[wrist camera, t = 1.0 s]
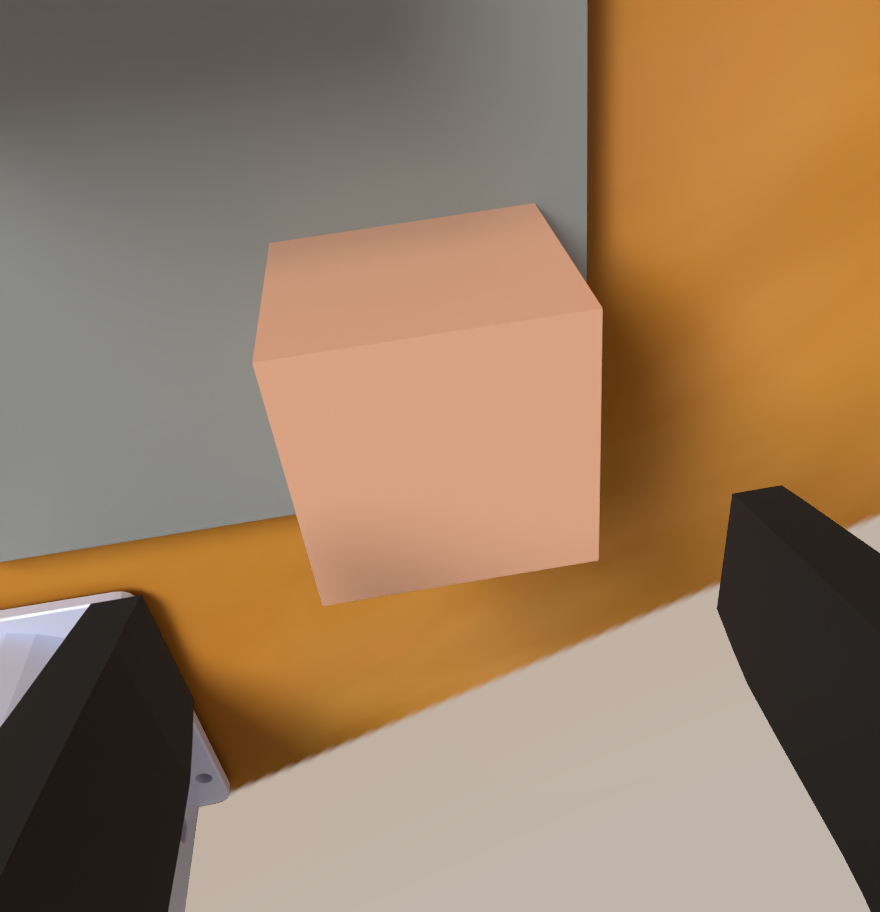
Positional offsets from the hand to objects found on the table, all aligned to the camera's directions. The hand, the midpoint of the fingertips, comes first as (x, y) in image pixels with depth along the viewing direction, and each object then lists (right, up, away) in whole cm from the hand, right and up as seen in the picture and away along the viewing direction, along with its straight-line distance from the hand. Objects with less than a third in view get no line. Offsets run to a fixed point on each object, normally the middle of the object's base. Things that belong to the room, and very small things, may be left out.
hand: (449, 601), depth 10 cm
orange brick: (-1, +4, +6) cm, 8 cm away
